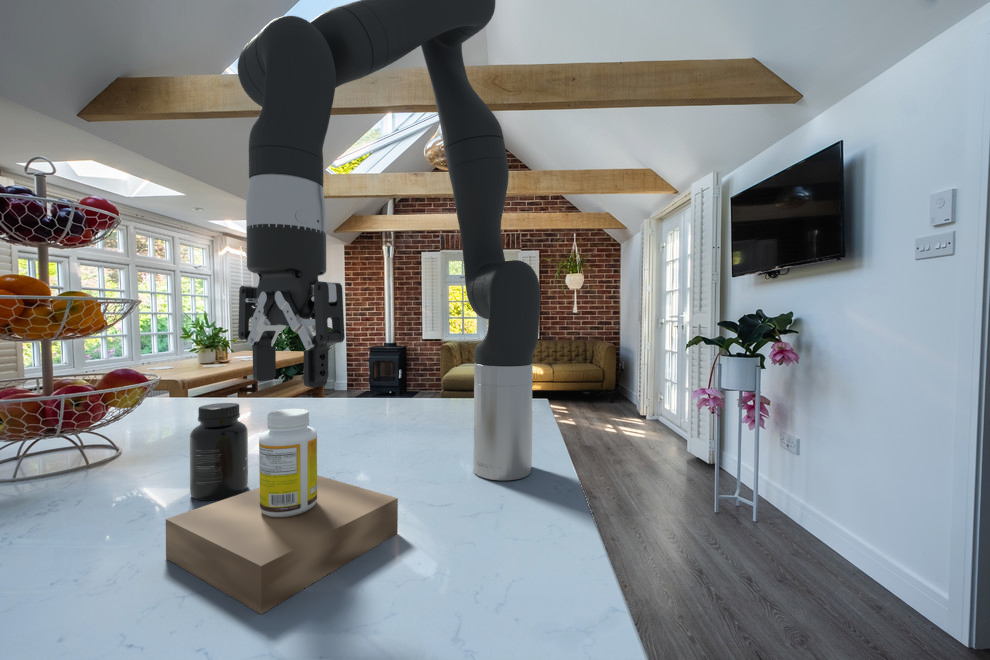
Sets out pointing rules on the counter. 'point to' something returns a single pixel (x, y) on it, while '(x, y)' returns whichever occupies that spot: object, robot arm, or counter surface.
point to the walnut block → (278, 541)
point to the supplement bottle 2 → (288, 464)
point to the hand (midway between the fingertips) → (288, 383)
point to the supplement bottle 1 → (218, 453)
